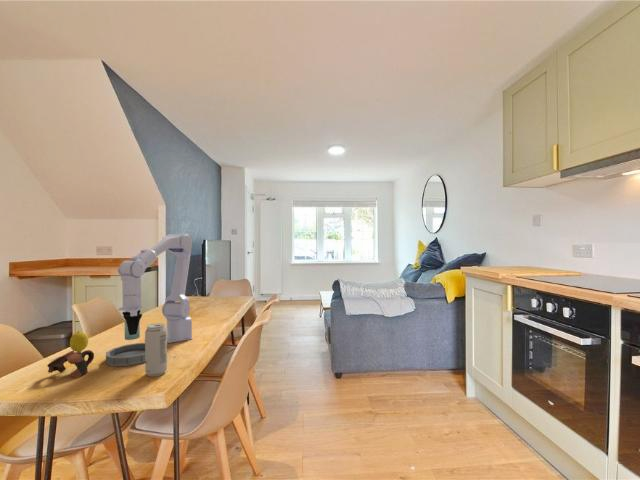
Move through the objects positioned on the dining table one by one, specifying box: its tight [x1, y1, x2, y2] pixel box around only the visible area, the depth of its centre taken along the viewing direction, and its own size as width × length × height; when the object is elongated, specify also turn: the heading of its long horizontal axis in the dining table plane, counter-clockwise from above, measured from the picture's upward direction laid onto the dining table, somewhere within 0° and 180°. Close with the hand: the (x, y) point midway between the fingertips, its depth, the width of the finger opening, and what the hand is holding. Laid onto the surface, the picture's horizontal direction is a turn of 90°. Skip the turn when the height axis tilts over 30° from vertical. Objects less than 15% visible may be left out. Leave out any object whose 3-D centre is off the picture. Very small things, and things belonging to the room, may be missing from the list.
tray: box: [105, 342, 145, 368], centre depth 116 cm, size 16×16×3 cm
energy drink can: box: [144, 322, 168, 378], centre depth 102 cm, size 6×6×15 cm
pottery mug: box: [46, 349, 95, 380], centre depth 103 cm, size 12×10×8 cm
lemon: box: [69, 330, 89, 354], centre depth 122 cm, size 6×6×8 cm
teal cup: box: [124, 320, 141, 341], centre depth 116 cm, size 5×5×6 cm
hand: (132, 332), depth 116 cm, fingers closed on teal cup, 5 cm apart
